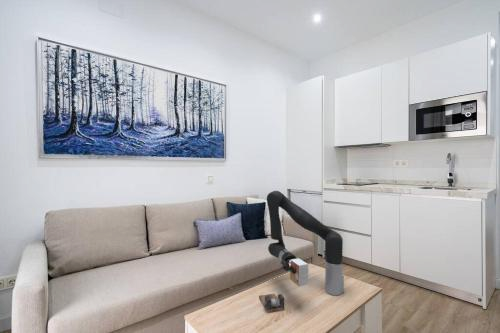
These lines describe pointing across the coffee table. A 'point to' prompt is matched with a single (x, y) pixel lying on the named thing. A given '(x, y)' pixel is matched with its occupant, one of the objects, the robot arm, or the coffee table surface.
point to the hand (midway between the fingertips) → (301, 271)
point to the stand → (273, 302)
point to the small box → (299, 272)
